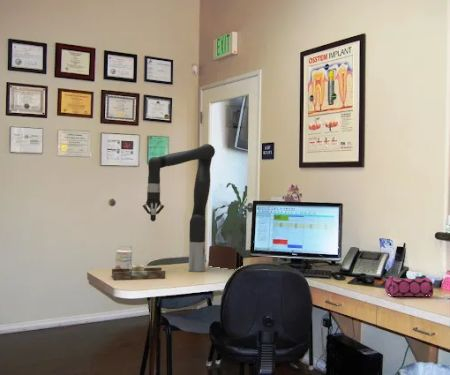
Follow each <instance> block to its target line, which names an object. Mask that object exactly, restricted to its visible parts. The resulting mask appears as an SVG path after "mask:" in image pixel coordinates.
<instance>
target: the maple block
mask: <svg viewBox="0 0 450 375" xmlns="http://www.w3.org/2000/svg"><path fill="white" fill-rule="evenodd" d="M144 268H145V265H144V264H132V272H133V271H144Z"/></svg>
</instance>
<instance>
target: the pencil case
mask: <svg viewBox="0 0 450 375" xmlns="http://www.w3.org/2000/svg"><path fill="white" fill-rule="evenodd" d="M384 290H385V293H386V294H387V295H388V294H390V295H391V296H426V295H427V296H429V295H430V296H431V297H432V296H434V283H433V281H432V279H430V278H429V277H423V278H401V277H396V276H392V275H390V276H389V277H388V278H387V279H386V281H385V286H384ZM391 296H390V297H391Z"/></svg>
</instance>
